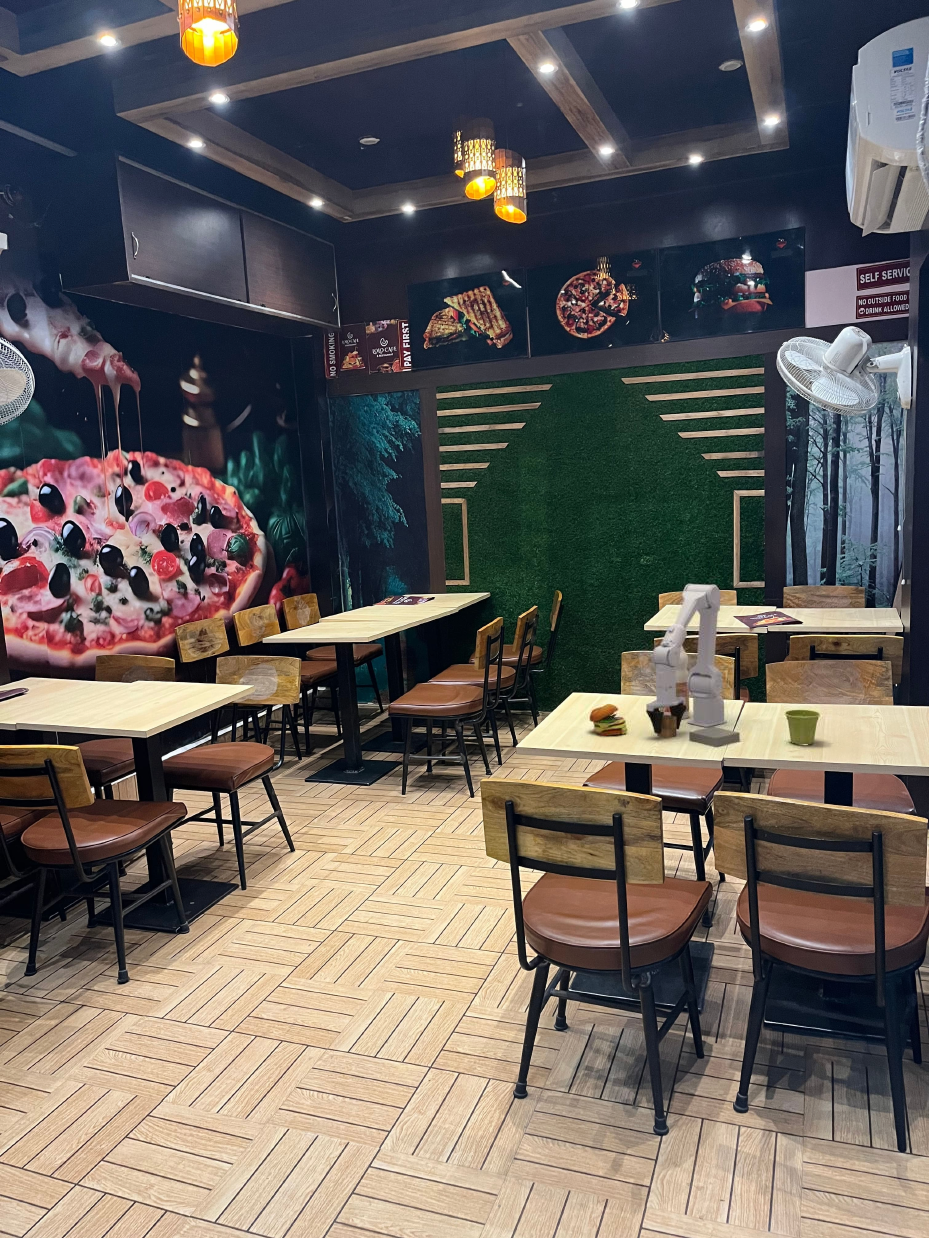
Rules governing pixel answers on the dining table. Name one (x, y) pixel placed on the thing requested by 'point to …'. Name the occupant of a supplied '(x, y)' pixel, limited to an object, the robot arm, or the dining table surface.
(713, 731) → the slate base
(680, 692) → the fruit juice
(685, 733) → the dining table surface
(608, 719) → the cheeseburger
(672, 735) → the walnut block
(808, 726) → the plant pot
